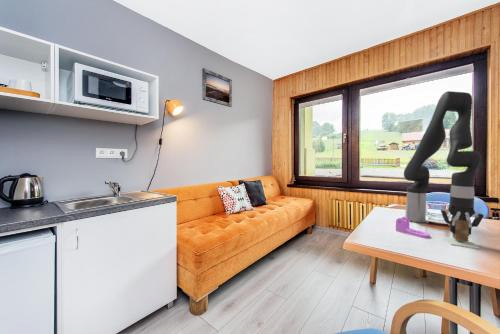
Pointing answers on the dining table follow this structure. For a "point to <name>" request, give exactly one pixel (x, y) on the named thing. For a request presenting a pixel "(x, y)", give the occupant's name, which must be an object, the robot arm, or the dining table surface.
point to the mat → (461, 243)
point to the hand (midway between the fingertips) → (460, 234)
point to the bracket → (404, 228)
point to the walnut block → (461, 230)
